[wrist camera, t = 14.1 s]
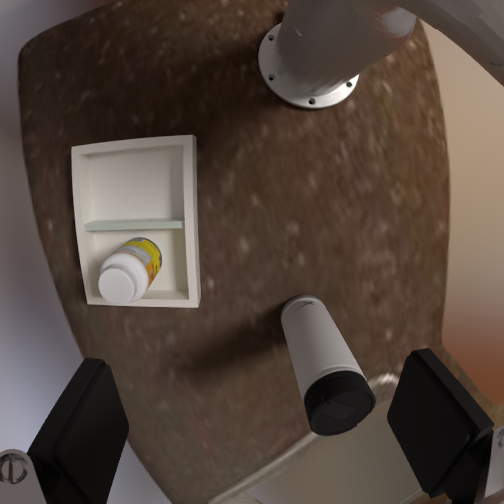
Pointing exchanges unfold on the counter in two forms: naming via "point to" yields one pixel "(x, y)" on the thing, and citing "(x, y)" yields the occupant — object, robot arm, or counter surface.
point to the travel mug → (324, 368)
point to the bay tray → (139, 212)
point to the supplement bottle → (129, 271)
